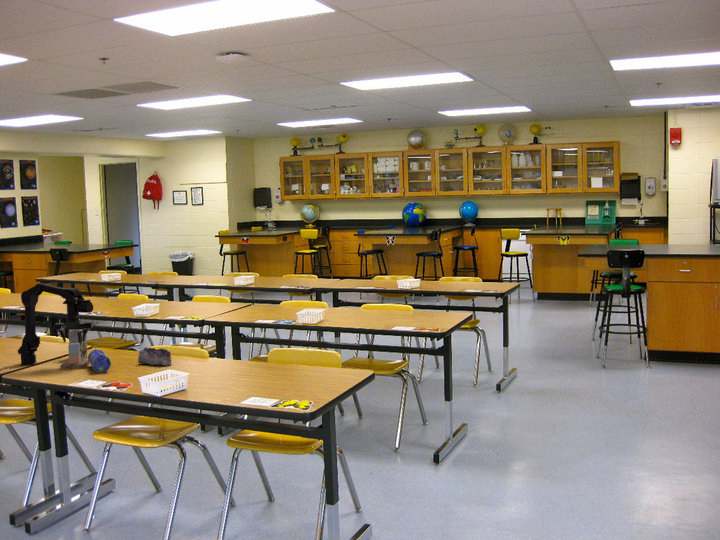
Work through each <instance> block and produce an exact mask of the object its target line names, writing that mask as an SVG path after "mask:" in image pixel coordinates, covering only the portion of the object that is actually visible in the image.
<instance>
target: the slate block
mask: <svg viewBox="0 0 720 540" xmlns="http://www.w3.org/2000/svg"><path fill="white" fill-rule="evenodd" d="M79 353H80V343H70V344H69V343H68V354H69V355H74V354H79Z"/></svg>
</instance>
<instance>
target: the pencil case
mask: <svg viewBox="0 0 720 540" xmlns="http://www.w3.org/2000/svg"><path fill="white" fill-rule="evenodd" d="M87 360H89V362H90V363H89V365H91V367H92V369H93V370H94V372H96V373H98V374H104V373H106V372H108V370H110V368H111V363H112V362H111V359H110V357H108V356H107V355H106V354H105V353H104V351H103V350H101V349H96V348H95V349H94V350H91V351H90V352H89V353H88V354H87Z"/></svg>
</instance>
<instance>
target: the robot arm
mask: <svg viewBox="0 0 720 540" xmlns="http://www.w3.org/2000/svg"><path fill="white" fill-rule="evenodd" d="M43 293H48V294H53V295H56V296H59V297H60V298H63V299H65V300H64V301H63V302H62V304H63V305H66V319H65V322H55V324H53V331H56V332H58V333H59V334H60V335H61V339H62V340H63V342H64V343H67V342H66V341H67V340H66V338H67V337H66V330H68V329H69V330H70V329H73V330H75V329H76V328H83V342H84V341H85V337H86V336H87V334H88V331H90V330H91V329H93V327H94V322H93V321H85V322H83V323H81V320H80V314H83V313H84V314H91V313H92V312H93V311H94V305H93V302H91V299H85V298H84V297H83V295H82V294H81V292H80V290H79V288H77V287H61V286H56V285H54V284H50V283H49V284H48V283H45V282H40V283H36V284H35V285H34V286H33V287H30V288H29V289H27V290H24V291H23V292H22V293H21V294H20V299H21V303H22V306H23V307H24V328H25V330H24V331H25V333H24V336H23V338H22V341H21V346H20V347H19V348H18V349H17V351H16V352H17V354H18V355H20V366H33V365H35V364H36V363H37V354H35V353H36V352H37V351H38V349H39V347H40V345H41V336H40V335H37V333H36V330H37V329H36V306H37V304H38V303H39V297H40V296H41V295H43Z"/></svg>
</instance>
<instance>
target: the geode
mask: <svg viewBox="0 0 720 540" xmlns="http://www.w3.org/2000/svg"><path fill="white" fill-rule="evenodd" d="M171 355H172V354H171V351H169V350H167V349H166V348H157V349H156V348H154V347H144V348H143V349H141V350H139V352H138V358H137V362H138V364H144V365H147V366H152V367H153V366H163V367H171V366H172V358H171V357H172V356H171Z"/></svg>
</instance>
